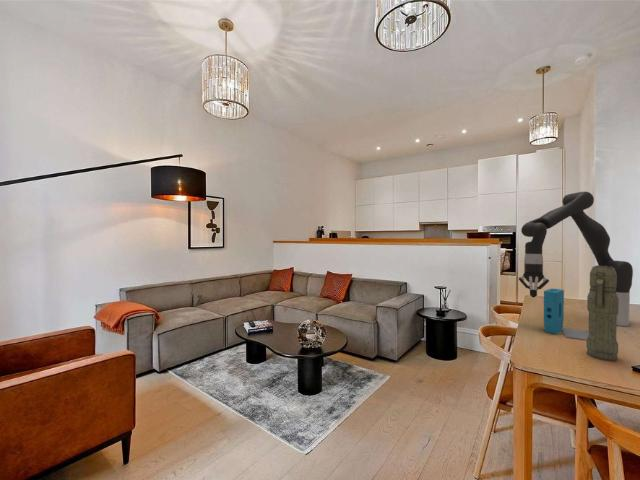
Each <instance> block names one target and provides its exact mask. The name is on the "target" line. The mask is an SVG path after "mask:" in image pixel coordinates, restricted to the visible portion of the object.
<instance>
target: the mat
mask: <svg viewBox="0 0 640 480" xmlns="http://www.w3.org/2000/svg"><path fill="white" fill-rule="evenodd" d="M588 332H589V330H586V329H585V330H583V329H579V328H570V327H563V328H562V333H563V335H564V336H565V338H567V339H575V340H581V341H586V342H587V337H588Z"/></svg>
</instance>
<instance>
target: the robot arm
mask: <svg viewBox="0 0 640 480" xmlns="http://www.w3.org/2000/svg"><path fill="white" fill-rule="evenodd" d="M594 203H595V198H594V196H593V194H592V193H591V192H589V191H579V192H574V193H573V192H572V193H569V194H566V195H564V197H563V198H562V206H558V207H557V208H554V209H552V210H550V211H548V212H546V213H544V214H542V215H541V216H540V217H538V218H535V219H533V220H529V221H528V222H525V223H524V224H523V225H522V227H521V229H520V231H521V234H522V235H523V236H524V237H528V238H532V239H531V241H528V242H526V243H525V244H524V265H523V266H524V270H523V275H521V276H520V277H518V281H520V283H521V284H522V285H523V286H524V287H525V289H529V296H530V297H531V298H536V297H537V296H538V290H541V289H543V288H544V287H545V286H546V285H547V284H548V283H549V282H550V280H549V279H548V278H546V277H545V274H544V257H543V246H544V243H545V239H546V236H547V233H548V230H549V229H551V228H553V227H554V226H556V225H557V224H559V223H561V222H562V221H564V220H565V219H567V218H569V217H571V219H572V220H573V222H574V223H575V224H576V226H577V228H578V229H579V231H580V233H581V235H582V236H583V238H584V241H585V242H586V243H587V245H588V247H589V248H590V250H591V252H592V254H593V256H594V258H595V261H596V263H597V266H611V267H613V268H614V269H615V271H616V274H617V288H616V291H617V296H618V299H619V312H618V314H617V326H619V327H629V326H630V297H631V296H630V295H631V292H630V290H631V288H632V285H633V276H634V267H633V265H632V264H631V263H630V262H628V261H624V260H614V259H613V258H612V257H611V255H610V252H609V248H610V243H611V237H610V234H609V233H608V232H607V229H606V228H605V227H604V225H602V224H601V223H599V222H598V221H596V220H595V219H594V218H592V217H590V216H589V215H588V214H586V212H585V211H584V210H587V209H589V208H591V207H592V206H594ZM525 280H526V281H527V282H528V283H529V284H527V283H526V282H525ZM541 281H542V282H541ZM539 283H540V284H539ZM538 285H539V286H538Z"/></svg>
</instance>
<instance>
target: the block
mask: <svg viewBox="0 0 640 480" xmlns="http://www.w3.org/2000/svg"><path fill="white" fill-rule="evenodd" d="M564 300H565V290H564V289H562V288H561V289H560V288H549V289H546V290H543V327H544V332H545V333H549V334H552V335H558V334H560V333H563V331H562V328H564V327H563V325H564V308H565V307H564V306H565V305H564V304H565V301H564Z"/></svg>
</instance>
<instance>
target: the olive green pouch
mask: <svg viewBox="0 0 640 480" xmlns="http://www.w3.org/2000/svg"><path fill="white" fill-rule="evenodd" d="M589 286H590V287H589V292H588V295H587V302H586V303H587V305H586V307H587V308H586V309H587V311H588V331H589V332H588V337H587V341H586V354H587V356H590V357H592V358H594V359H598V360H602V361H609V362H610V361H612V362H615V361H617V360H618V353H619V343H618V341H617V326H618V325H617V314H618V312H619V299H618V296H617V291H616V288H617V274H616V271H615V269H614V268H613V267H611V266H599V265H594V266H592V268H591V270H590V271H589Z"/></svg>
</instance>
